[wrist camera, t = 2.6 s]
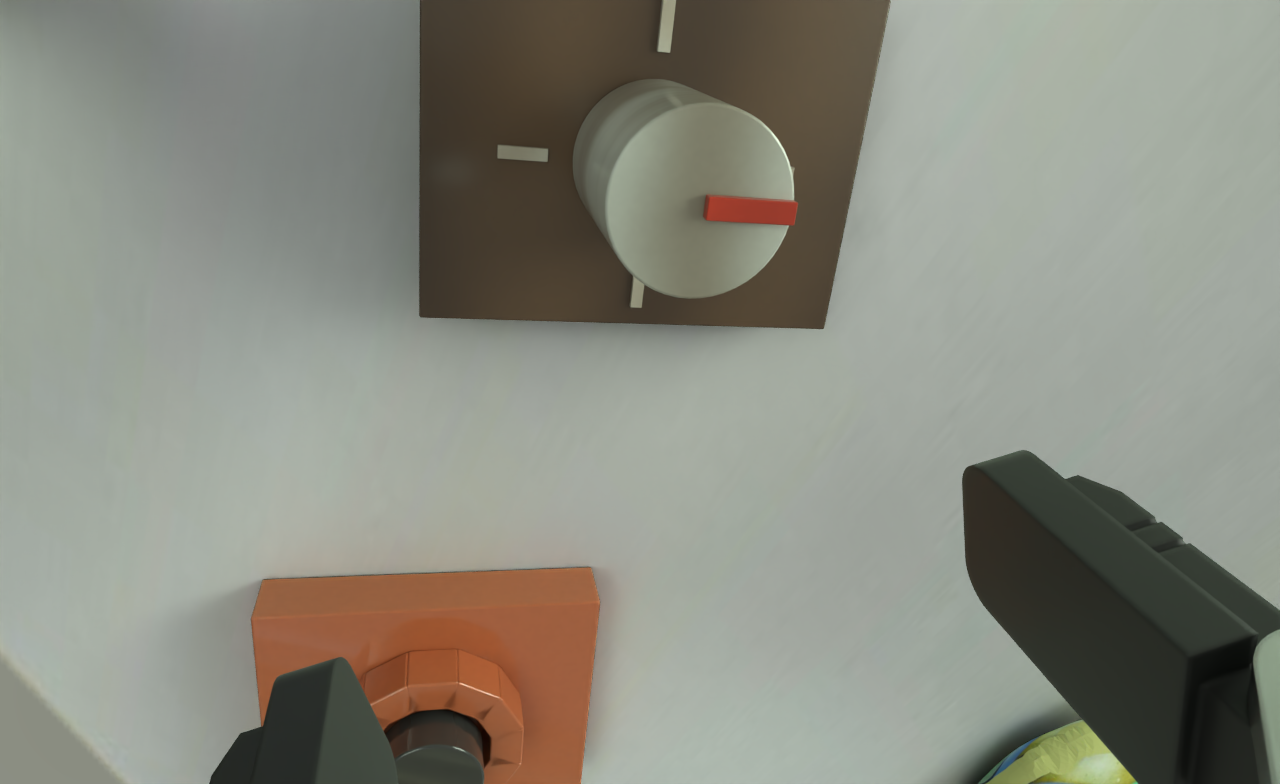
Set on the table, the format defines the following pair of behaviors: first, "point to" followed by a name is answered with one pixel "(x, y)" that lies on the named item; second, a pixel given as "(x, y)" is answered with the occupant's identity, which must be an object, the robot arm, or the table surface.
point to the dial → (683, 187)
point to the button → (437, 748)
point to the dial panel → (555, 110)
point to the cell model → (1061, 760)
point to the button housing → (451, 654)
